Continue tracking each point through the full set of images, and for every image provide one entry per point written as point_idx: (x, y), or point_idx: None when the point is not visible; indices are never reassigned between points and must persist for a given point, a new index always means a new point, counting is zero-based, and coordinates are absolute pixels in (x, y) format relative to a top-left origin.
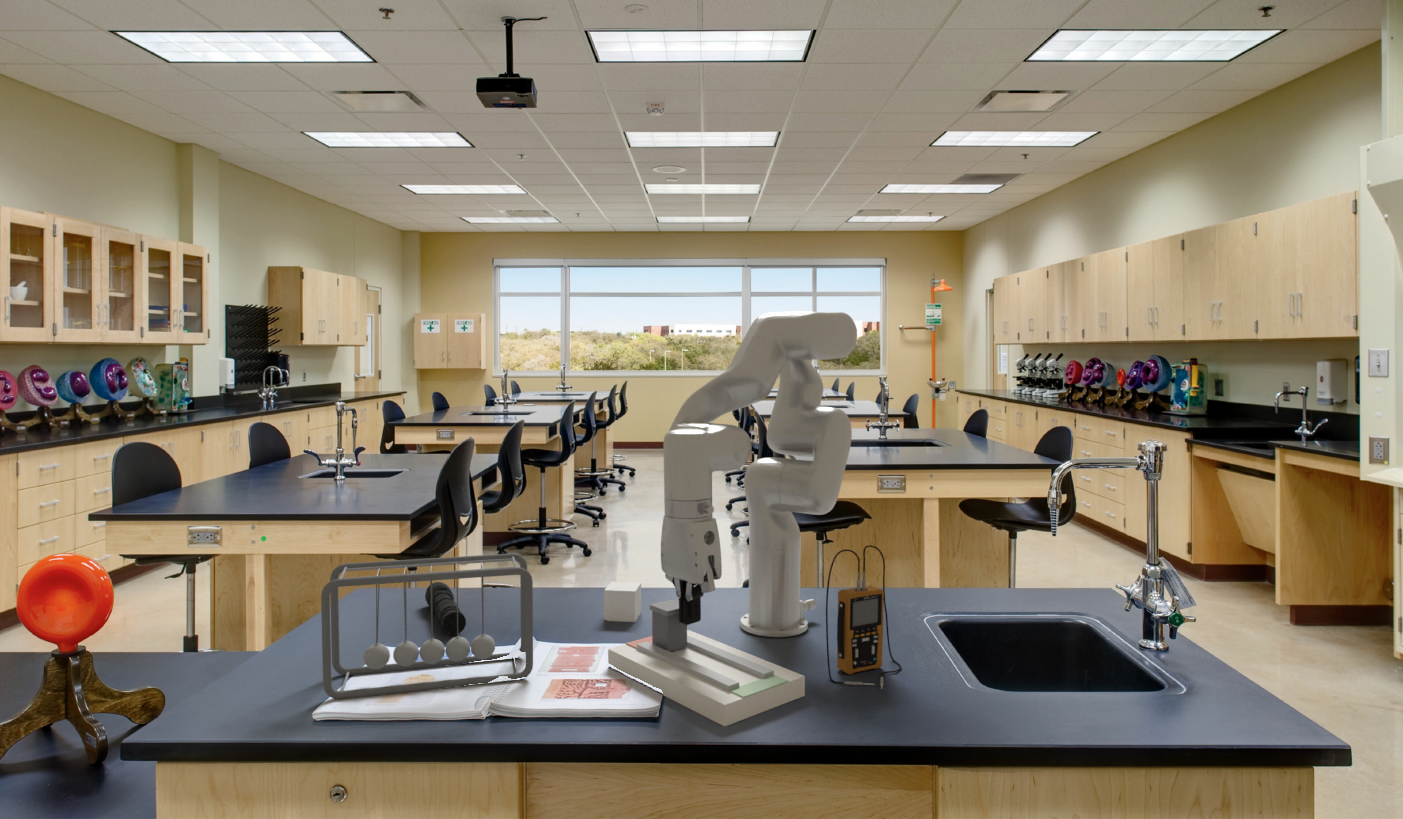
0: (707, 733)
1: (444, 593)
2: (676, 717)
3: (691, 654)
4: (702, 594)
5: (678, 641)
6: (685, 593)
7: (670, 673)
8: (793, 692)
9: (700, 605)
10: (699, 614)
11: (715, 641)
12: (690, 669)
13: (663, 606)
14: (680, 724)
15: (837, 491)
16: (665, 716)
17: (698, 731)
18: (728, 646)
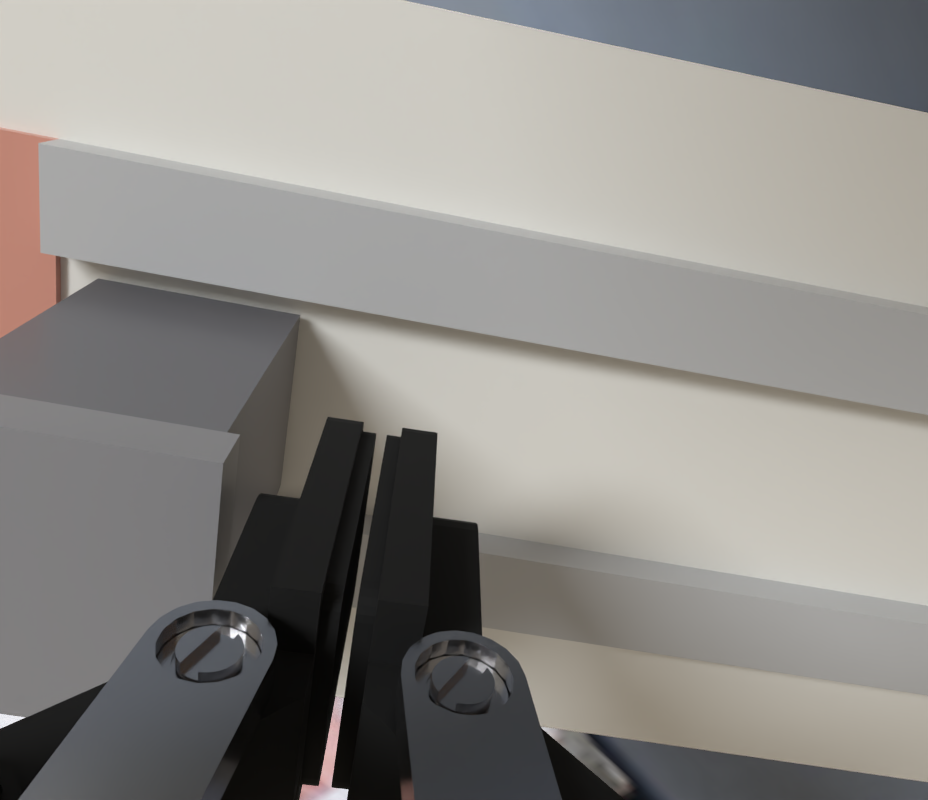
0: (898, 780)
1: None
2: (705, 754)
3: (420, 390)
4: (564, 757)
5: (277, 420)
6: (278, 796)
7: (528, 685)
8: None
9: (431, 522)
10: (476, 536)
11: (369, 13)
12: (633, 645)
13: (27, 657)
14: (757, 785)
15: None
16: (659, 771)
17: (856, 787)
18: (542, 45)
